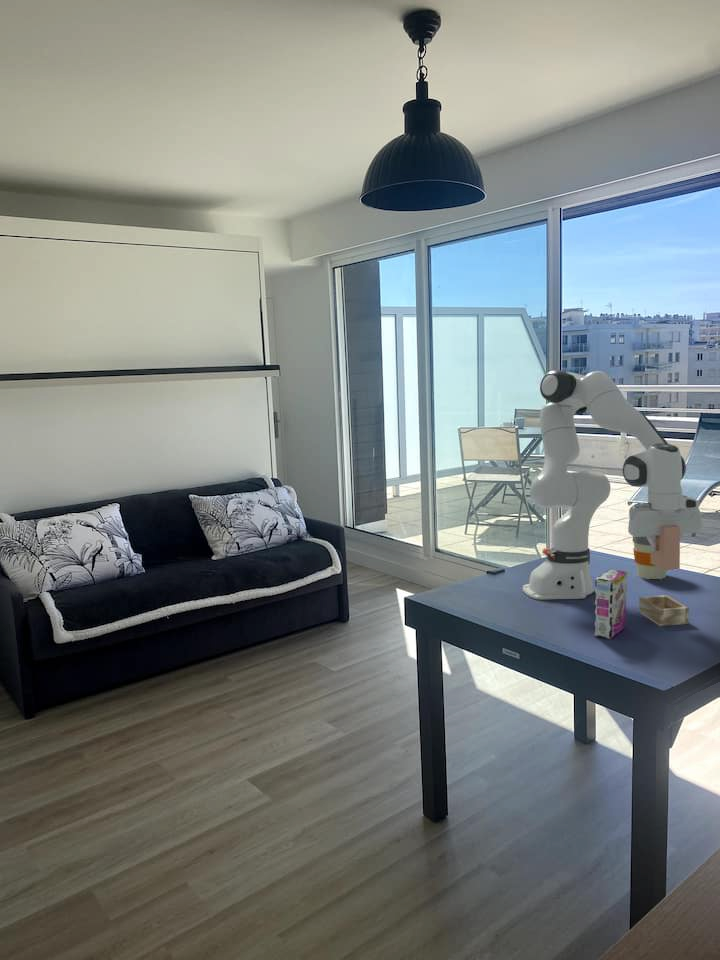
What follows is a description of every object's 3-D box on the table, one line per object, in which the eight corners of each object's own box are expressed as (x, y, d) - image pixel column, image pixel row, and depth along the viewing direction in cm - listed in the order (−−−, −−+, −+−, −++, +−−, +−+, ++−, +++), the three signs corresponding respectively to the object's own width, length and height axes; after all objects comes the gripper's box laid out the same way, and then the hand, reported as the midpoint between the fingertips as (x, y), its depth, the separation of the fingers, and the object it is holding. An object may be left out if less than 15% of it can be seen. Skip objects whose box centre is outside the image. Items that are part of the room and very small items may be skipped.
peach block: (664, 570, 203) (664, 527, 201) (650, 563, 211) (650, 522, 209) (679, 568, 203) (680, 526, 202) (665, 562, 211) (665, 521, 210)
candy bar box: (612, 640, 195) (612, 581, 193) (593, 636, 198) (593, 578, 196) (627, 627, 204) (627, 570, 201) (609, 624, 207) (609, 568, 204)
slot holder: (659, 626, 204) (660, 610, 203) (639, 612, 215) (639, 597, 215) (688, 623, 204) (688, 607, 204) (666, 609, 216) (666, 594, 215)
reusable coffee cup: (634, 581, 245) (634, 537, 243) (630, 570, 257) (630, 529, 255) (674, 581, 242) (675, 537, 240) (668, 571, 254) (668, 529, 252)
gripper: (634, 506, 201) (634, 555, 202) (705, 501, 203) (704, 549, 204) (624, 502, 207) (624, 550, 209) (692, 497, 209) (691, 544, 211)
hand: (664, 549), depth 207 cm, fingers closed on peach block, 4 cm apart
